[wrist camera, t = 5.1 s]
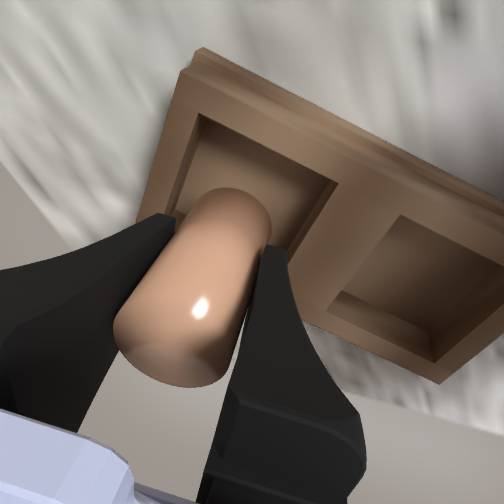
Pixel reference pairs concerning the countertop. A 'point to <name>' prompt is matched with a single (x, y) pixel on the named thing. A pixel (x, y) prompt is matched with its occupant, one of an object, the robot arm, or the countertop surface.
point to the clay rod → (196, 292)
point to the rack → (341, 216)
